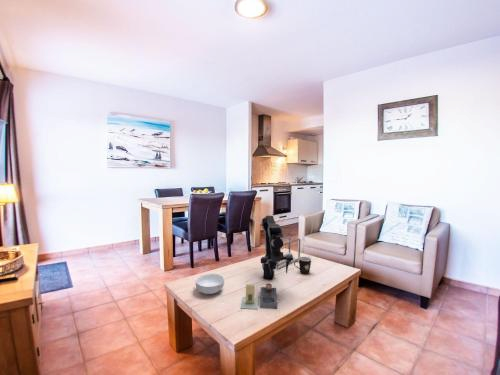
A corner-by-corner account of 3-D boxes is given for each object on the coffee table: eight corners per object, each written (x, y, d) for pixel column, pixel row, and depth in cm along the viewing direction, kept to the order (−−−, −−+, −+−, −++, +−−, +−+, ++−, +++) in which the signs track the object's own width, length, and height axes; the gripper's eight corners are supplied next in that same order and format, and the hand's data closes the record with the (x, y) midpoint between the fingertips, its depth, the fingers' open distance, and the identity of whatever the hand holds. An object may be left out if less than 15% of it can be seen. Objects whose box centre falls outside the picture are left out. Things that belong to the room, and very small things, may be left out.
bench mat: (242, 297, 140) (242, 296, 140) (258, 298, 140) (258, 297, 140) (240, 308, 129) (240, 307, 129) (257, 309, 129) (257, 308, 129)
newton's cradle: (289, 256, 208) (289, 235, 206) (299, 259, 201) (300, 238, 199) (266, 266, 186) (266, 242, 185) (277, 270, 179) (278, 246, 177)
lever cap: (246, 301, 136) (246, 284, 135) (254, 301, 135) (254, 284, 135) (245, 304, 133) (245, 286, 132) (254, 304, 132) (254, 287, 132)
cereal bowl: (193, 286, 152) (193, 275, 151) (220, 282, 158) (220, 271, 157) (198, 300, 136) (198, 288, 136) (227, 295, 142) (227, 283, 142)
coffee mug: (310, 270, 179) (311, 257, 178) (310, 275, 170) (311, 261, 169) (294, 269, 181) (294, 255, 181) (293, 273, 173) (294, 259, 172)
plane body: (260, 291, 148) (261, 282, 147) (276, 291, 147) (276, 282, 147) (259, 307, 131) (260, 297, 130) (277, 308, 130) (277, 298, 129)
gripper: (258, 250, 140) (261, 278, 138) (291, 247, 137) (295, 276, 136) (260, 247, 151) (263, 273, 149) (291, 244, 148) (294, 271, 147)
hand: (278, 273), depth 145 cm, fingers open, 9 cm apart
